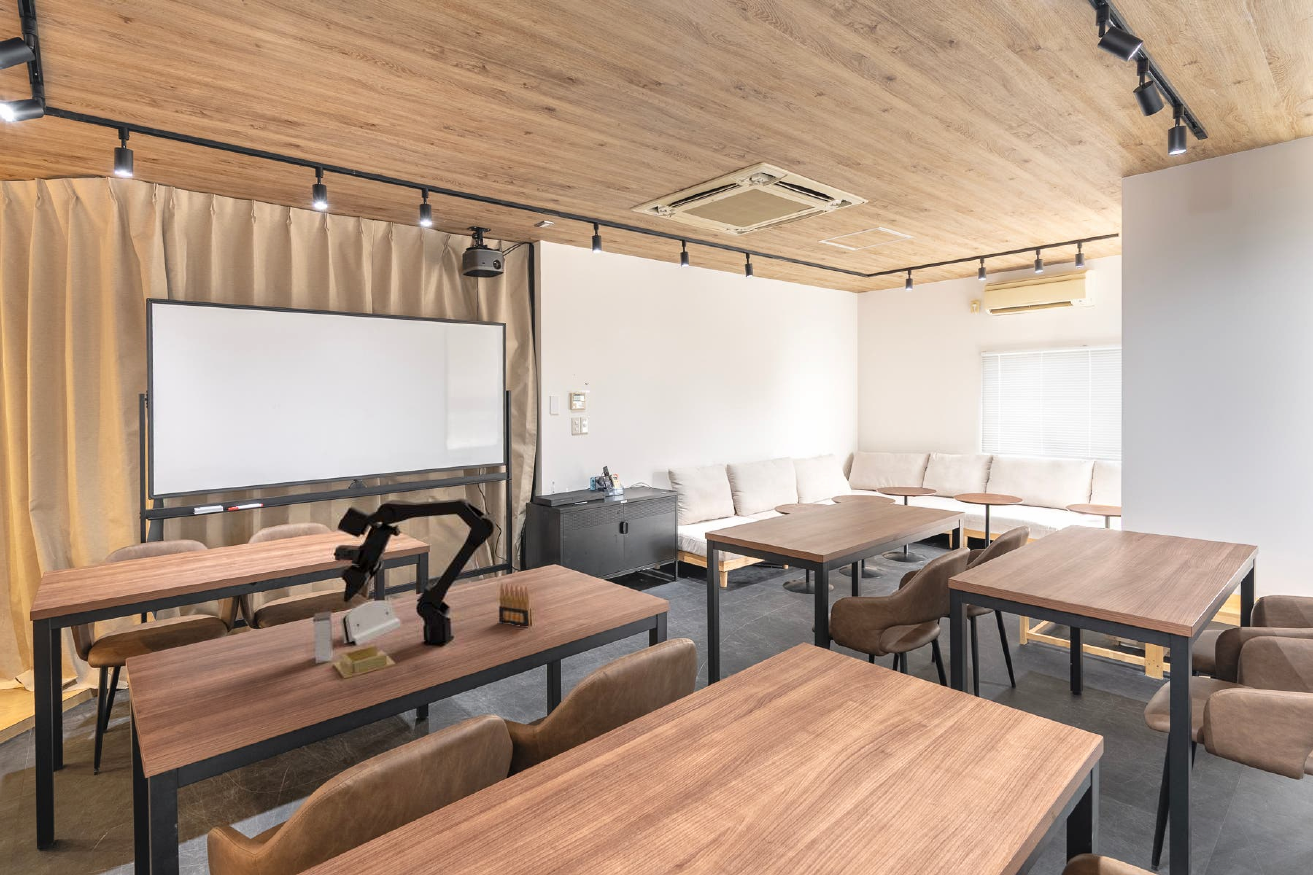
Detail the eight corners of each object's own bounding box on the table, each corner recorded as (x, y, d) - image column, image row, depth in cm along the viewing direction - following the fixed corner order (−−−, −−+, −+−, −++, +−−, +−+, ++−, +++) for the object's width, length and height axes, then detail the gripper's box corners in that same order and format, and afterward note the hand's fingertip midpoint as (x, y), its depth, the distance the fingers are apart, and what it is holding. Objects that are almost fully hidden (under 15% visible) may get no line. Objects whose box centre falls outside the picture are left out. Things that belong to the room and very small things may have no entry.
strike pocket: (382, 652, 172) (382, 641, 172) (395, 664, 164) (394, 653, 164) (333, 664, 165) (333, 654, 165) (344, 678, 157) (344, 667, 156)
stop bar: (333, 653, 172) (331, 611, 171) (331, 661, 167) (329, 617, 166) (317, 655, 171) (315, 613, 170) (315, 663, 166) (312, 619, 165)
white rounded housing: (356, 645, 177) (345, 610, 178) (345, 649, 179) (334, 614, 180) (403, 625, 192) (393, 593, 193) (392, 628, 194) (382, 596, 195)
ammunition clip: (532, 625, 191) (530, 585, 190) (528, 627, 189) (527, 587, 188) (502, 620, 195) (501, 581, 194) (498, 622, 193) (497, 583, 192)
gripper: (356, 525, 183) (333, 575, 183) (334, 540, 164) (308, 595, 164) (394, 541, 185) (371, 590, 184) (376, 557, 166) (351, 612, 166)
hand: (350, 596), depth 175 cm, fingers open, 9 cm apart
